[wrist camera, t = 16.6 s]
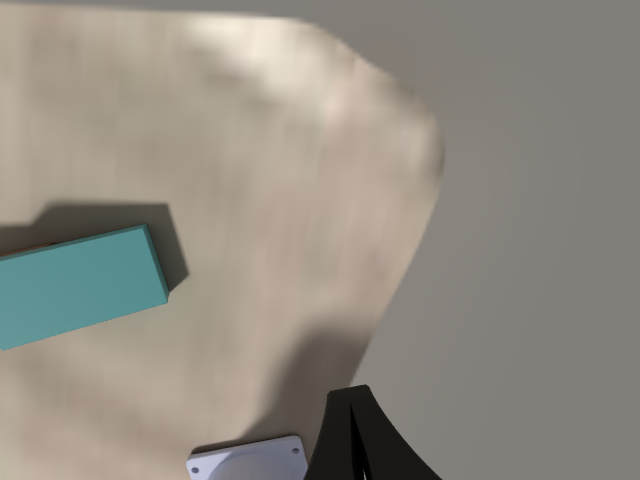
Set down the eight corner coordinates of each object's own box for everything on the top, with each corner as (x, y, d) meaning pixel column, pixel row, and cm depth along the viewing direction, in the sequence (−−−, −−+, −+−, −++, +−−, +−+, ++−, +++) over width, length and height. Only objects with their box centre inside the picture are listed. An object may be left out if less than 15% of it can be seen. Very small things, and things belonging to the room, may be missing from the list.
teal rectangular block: (169, 293, 22) (16, 336, 20) (146, 223, 20) (-19, 261, 18) (167, 302, 20) (1, 350, 18) (142, 228, 19) (-38, 270, 17)
